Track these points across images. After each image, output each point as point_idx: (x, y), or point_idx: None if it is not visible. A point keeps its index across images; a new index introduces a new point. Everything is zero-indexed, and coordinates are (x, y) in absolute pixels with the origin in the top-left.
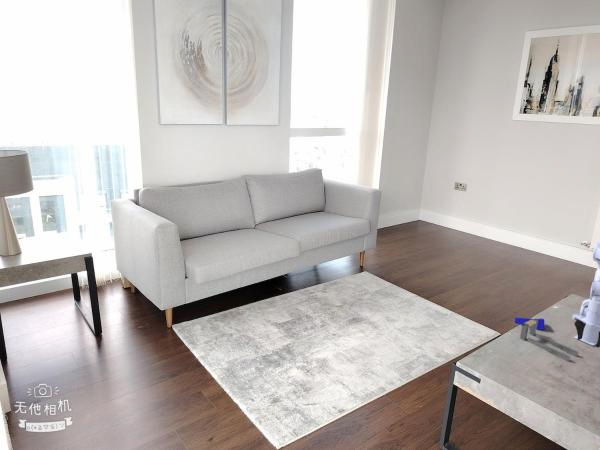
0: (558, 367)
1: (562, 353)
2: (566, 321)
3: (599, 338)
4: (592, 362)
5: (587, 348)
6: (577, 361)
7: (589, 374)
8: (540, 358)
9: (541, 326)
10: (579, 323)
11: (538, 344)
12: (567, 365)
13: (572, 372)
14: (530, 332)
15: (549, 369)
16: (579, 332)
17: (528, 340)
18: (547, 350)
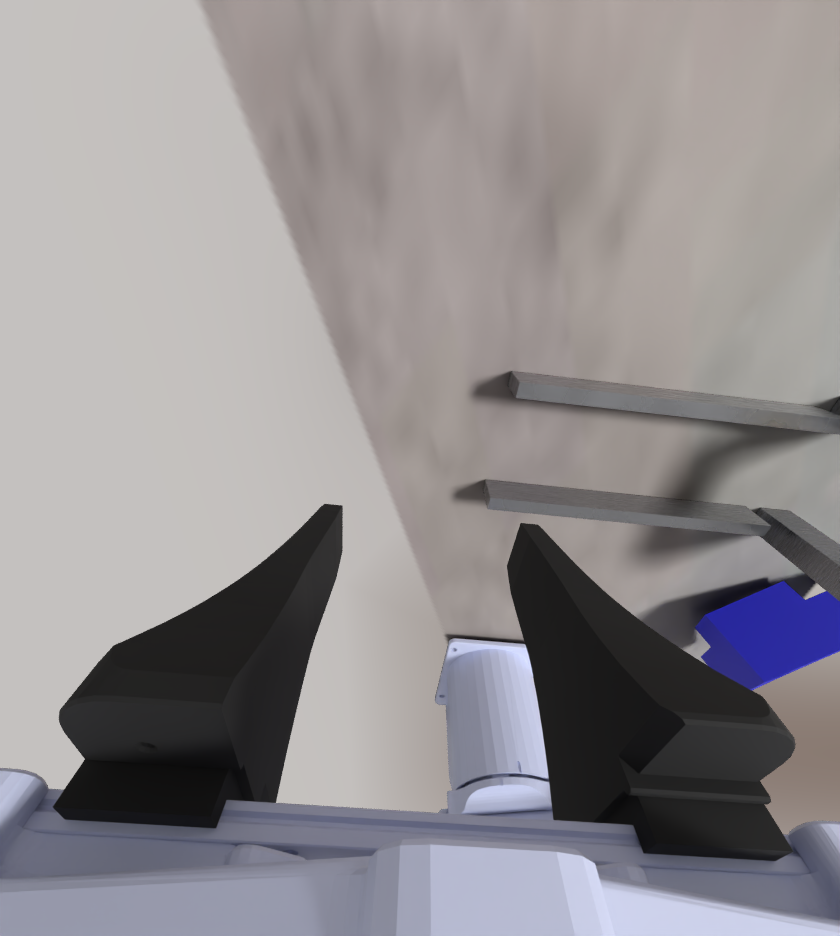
0: (559, 179)
1: (576, 396)
2: None
3: (276, 586)
4: (398, 486)
5: (465, 603)
6: (466, 425)
7: (349, 301)
8: (718, 209)
9: (738, 626)
10: (685, 766)
11: (754, 405)
12: (505, 298)
13: (446, 201)
14: (806, 526)
15: (630, 21)
16: (570, 588)
17: (827, 413)
18: (671, 392)
